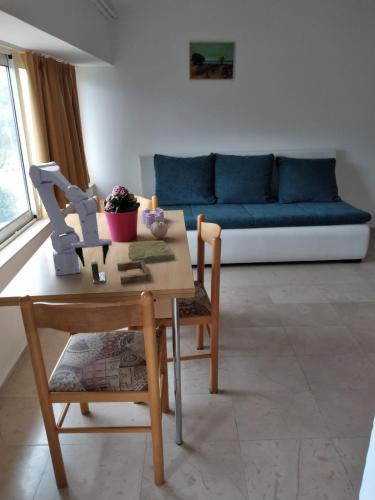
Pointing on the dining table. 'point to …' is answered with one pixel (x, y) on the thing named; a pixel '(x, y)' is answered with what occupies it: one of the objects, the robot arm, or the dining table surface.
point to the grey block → (97, 274)
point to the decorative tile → (149, 251)
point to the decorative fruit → (159, 229)
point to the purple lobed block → (152, 216)
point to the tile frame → (136, 277)
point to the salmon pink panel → (133, 272)
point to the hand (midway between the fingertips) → (94, 264)
